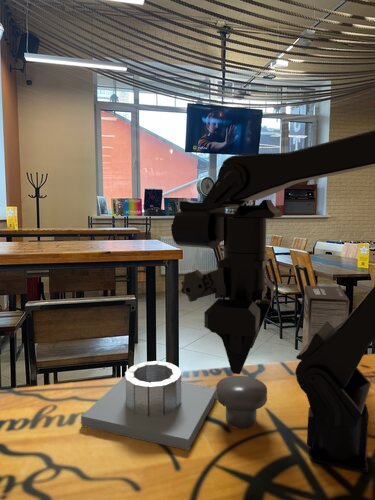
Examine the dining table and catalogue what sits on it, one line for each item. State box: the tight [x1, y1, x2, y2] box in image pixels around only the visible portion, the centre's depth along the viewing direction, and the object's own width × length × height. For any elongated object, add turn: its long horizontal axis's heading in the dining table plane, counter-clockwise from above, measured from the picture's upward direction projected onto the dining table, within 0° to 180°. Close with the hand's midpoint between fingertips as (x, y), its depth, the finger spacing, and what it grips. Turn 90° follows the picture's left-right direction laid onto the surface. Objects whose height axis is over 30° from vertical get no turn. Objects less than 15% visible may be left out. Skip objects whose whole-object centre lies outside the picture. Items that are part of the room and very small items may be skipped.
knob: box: [215, 375, 268, 430], centre depth 55 cm, size 7×7×5 cm
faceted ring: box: [124, 360, 182, 417], centre depth 58 cm, size 8×8×4 cm
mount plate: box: [80, 376, 217, 451], centre depth 58 cm, size 16×14×2 cm
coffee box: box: [301, 285, 350, 350], centre depth 67 cm, size 9×6×16 cm
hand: (242, 359), depth 54 cm, fingers open, 9 cm apart
